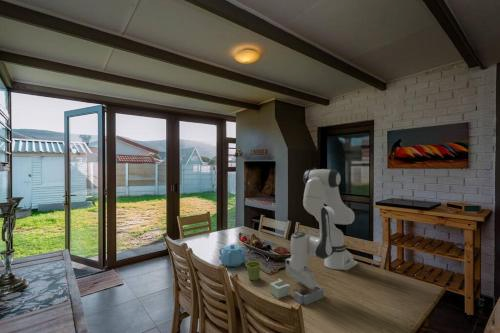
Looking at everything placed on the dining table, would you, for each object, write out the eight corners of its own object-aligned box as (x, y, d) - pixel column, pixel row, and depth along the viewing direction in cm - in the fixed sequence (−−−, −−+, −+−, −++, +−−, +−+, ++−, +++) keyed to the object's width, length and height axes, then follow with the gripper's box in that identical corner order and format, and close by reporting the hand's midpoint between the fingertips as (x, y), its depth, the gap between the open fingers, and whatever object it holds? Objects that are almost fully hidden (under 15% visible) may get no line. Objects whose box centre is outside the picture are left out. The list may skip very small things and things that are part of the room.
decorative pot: (225, 271, 162) (224, 250, 162) (218, 262, 176) (217, 243, 176) (248, 266, 168) (247, 246, 168) (239, 258, 183) (238, 240, 183)
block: (308, 293, 130) (308, 282, 129) (311, 300, 124) (311, 288, 123) (296, 293, 129) (296, 282, 129) (299, 300, 123) (299, 289, 123)
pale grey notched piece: (298, 281, 144) (298, 272, 144) (309, 287, 136) (309, 278, 136) (268, 291, 133) (268, 282, 133) (278, 299, 125) (278, 289, 125)
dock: (316, 291, 132) (316, 284, 132) (325, 297, 126) (325, 289, 126) (294, 300, 124) (294, 292, 124) (303, 306, 119) (302, 297, 119)
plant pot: (248, 283, 144) (248, 268, 144) (244, 276, 153) (244, 262, 153) (263, 280, 146) (263, 265, 146) (259, 274, 155) (258, 260, 155)
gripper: (318, 269, 124) (319, 296, 124) (292, 256, 142) (293, 280, 142) (308, 272, 121) (309, 300, 121) (283, 258, 138) (284, 283, 139)
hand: (300, 289), depth 131 cm, fingers closed
